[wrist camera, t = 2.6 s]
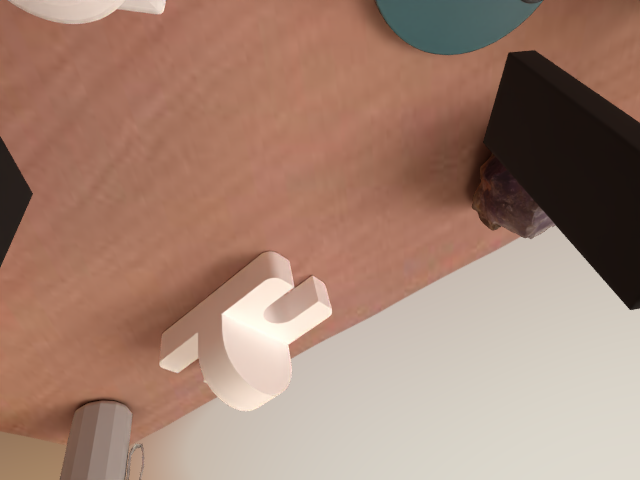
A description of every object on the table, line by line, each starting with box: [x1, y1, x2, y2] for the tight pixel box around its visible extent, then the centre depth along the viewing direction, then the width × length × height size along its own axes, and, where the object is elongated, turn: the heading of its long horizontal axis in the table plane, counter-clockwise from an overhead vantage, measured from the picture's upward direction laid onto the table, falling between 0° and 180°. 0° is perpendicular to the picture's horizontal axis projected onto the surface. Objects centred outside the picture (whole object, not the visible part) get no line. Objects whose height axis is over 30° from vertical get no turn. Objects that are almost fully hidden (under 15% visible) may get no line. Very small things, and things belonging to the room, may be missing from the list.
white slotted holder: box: [159, 251, 332, 411], centre depth 46 cm, size 10×18×11 cm, turn 131°
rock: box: [472, 153, 555, 239], centre depth 38 cm, size 12×9×10 cm
